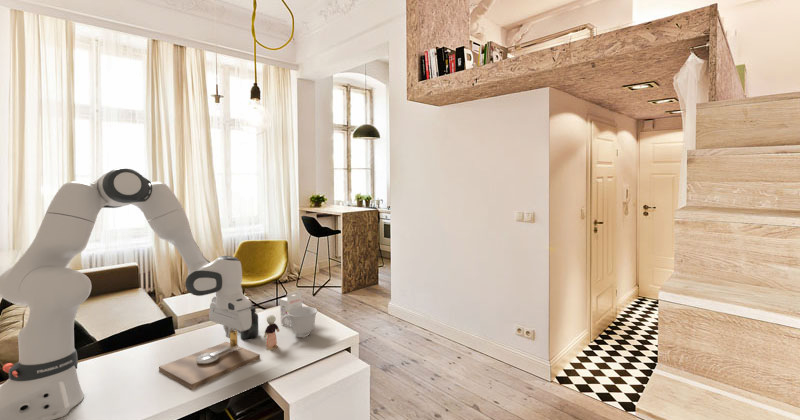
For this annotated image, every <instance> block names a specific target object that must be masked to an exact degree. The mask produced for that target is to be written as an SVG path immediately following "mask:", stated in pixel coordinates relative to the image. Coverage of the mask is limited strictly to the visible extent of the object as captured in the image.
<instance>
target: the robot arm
mask: <svg viewBox="0 0 800 420" xmlns="http://www.w3.org/2000/svg"><path fill="white" fill-rule="evenodd" d="M129 205H133V206H135V207H137V208H138V209H139V210H140V211H141V212H142V213H143V215H144V217H145V219H146V221H147V223H148V225H149V227H150V228H151V230H152V231H153V232H154V233H155V234H156V235H157V237H159V239H161V240H163V241H166V242H168V243H170V244H171V245H173V246H174V247H175V248H176V250H177V251H178V253H179V255H180V258H182V259H183V262H184V264H185V265H186V268H187V277H186V279H185V282H184V283H185V288H186V290H187V292H188V293H190V294H191V295H194V296H197V297H203V296H206V295H211V294H215V296H213V297H212V298H211V303H210V304H209V309H208V310H209V312H208V317H209V321H210V322H212V323H216V324H218V325H221V326H223V330H224V332H225V337H226V338H228V339H230V332H231V331H239V332H240V331H245V330H248V329H250V327H251V322H252V317H251V310H250V308H249V307H251V306H253V305H252V301H251V300H250V299H248V298H247V296H245V294H243V289H242V283H243V282H242V281H243V268H242V267H243V266H242V262H241V260H239V258H237V257H236V256H231V255H221V256H218V257H217V258H216V259H213V260H212V261H209V260H208V259H207V258H206V257H205V256H204V255H203V252H202V251H201V249H200V247H199V246H198V245H197V242H196V241H195V238H194V235H193V233H192V229H191V225H190V222H189V219H188V215H187V214H186V211H185V210H184V208H183V206H182V204H181V202H180V200H179V199H178V197H177V196H176V194H175V193H174V192H173V191H172V189H171V188H170V187H169V185H167V184H166V183H164V182H160V181H153V182H152V181H151V180H149V179H147V178H146V177H144V175H142V174H141V173H139V172H138V171H136V170H134V169H131V168H127V167H118V168H115V169H112V170H110V171H109V172H106V173H104V174H103V175H101V176H100V177H99V178H98V179H97V180H95V181H94V182H93V183H91V182H90V183H88V182H84V181H76V180H75V181H68V182H66V183H64V184H62V185H61V186H60V188H59V189H58V190H57V192H56V193H55V195H54V196H53V198H52V200H51V202H50V204H49V205H48V207H47V209H46V211H45V214H44V216H43V219H42V221H41V223H40V226H39V228H38V231H37V233H36V235H35V237H34V239H33V240H32V243H30V245H29V247H28V248H27V250H25V252H24V253H23V254H22V256H21V257H20V258H19V259H18V260H17V262H16V263H15V264H13V266H11V268H9V269H7V270H5V271H4V272H3V273H1V275H0V298H2V299H3V300H5V301H7V302H9V303H12V304H14V305H18V306H19V305H20V306H25V307H28V309H29V314H28V318H27V322H26V324H25V326H23V327H22V328H21V329H20V330H19V332H18V334H17V341H18V361H17V362H16V363H15V364H14V363H11V362H9V363H6V364H4V365H3V366H2V370H3V371H4V372H5V373H7V374H8V379H7V380H6V381H5V382H3V383H2V384H1V385H0V420H56V419H58V418H59V419H60V418H63V417H64V416H66V415H67V414H68V413H69V412H70V411H71V410H72V409H73V408H74V407H76V406H77V405H78V404H80V403H81V402H82V401H83V399H84V398H85V394H84V391H83V389H82V387H81V384H80V381H79V377H78V372H77V369H78V362H79V361H78V353H77V349H76V348H75V329H74V328H75V319H76V317H77V313H78V310H79V308H80V306H81V304H83V303H85V301H86V300H87V299H88V297H90V294H91V292H92V281H91V280H90V278H89V277H88V276H87V275H86V274H85V273H83V272H81V271H78V270H76V269H72V268H70V267H69V268H68V266H69V264H70V263H71V261H72V260H73V259H74V258H75V257H77V255H79V254H81V253H83V252H84V251H85V249H86V248H87V245H88V243H89V240H90V237H91V235H92V232H93V229H94V226H95V224H96V221H97V218H98V215H99V213H100V212H101V210H102V209H104V208H107V209H110V208H111V209H116V208H117V209H118V208H121V207H124V206H125V207H126V206H129Z"/></svg>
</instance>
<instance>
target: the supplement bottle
mask: <svg viewBox="0 0 800 420" xmlns="http://www.w3.org/2000/svg"><path fill="white" fill-rule="evenodd" d="M249 308H250V310H251V317H252V322H251V327H250V329H248V330H245V331H239V332H240V336H239V337H240V339H241V340H244V341H250V340H253V339H256V338H258V337H259V315H258V313H257V311H256V310H257V309H256V306H253V305H251V307H249Z"/></svg>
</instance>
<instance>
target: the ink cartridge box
mask: <svg viewBox="0 0 800 420" xmlns="http://www.w3.org/2000/svg"><path fill="white" fill-rule="evenodd" d="M279 301H280V302H279V303H280V325H281V324H282V317H283V316H284V315H288V314H287V312H288V311H289V310H291V309H293V308H297V307H303V296H302V290H301V289H299V290H298V289H297V290H295V291H291V292H287V294H286V297H283V298H280V300H279ZM288 316H289V315H288ZM284 323H285V324H288V325H291V324H290V320H288V319H287V318H285V319H284Z"/></svg>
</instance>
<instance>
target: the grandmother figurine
mask: <svg viewBox="0 0 800 420" xmlns="http://www.w3.org/2000/svg"><path fill="white" fill-rule="evenodd" d="M266 322H267V324H268V325H267V326H266V328H265V331H264V335H263V338H264V339H266V342H265V343H266V344H265V345H266V351H267V350H268V351H269V350H270V351H271V350H274V349H275V348H278V345H277V344H278V342H277V341H278V340H277V334H276V332H278V333H279V332H280V329H279V326H278V324H276V323H275V322H276V316H275V315H274V314H270V315H267V316H266Z"/></svg>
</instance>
